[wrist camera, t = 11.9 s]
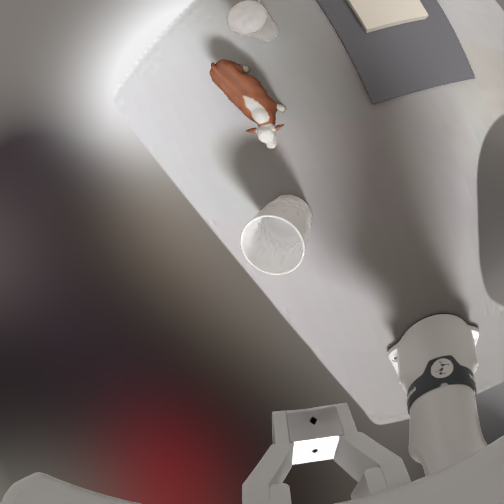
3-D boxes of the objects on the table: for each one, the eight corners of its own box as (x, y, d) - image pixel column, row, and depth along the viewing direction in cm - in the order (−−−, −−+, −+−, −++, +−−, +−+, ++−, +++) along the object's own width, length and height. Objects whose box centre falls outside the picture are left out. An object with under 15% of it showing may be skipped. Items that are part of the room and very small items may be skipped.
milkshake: (294, 25, 29) (275, 2, 20) (268, 52, 32) (242, 37, 23) (268, 8, 28) (242, -16, 20) (244, 34, 31) (212, 17, 23)
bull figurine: (278, 146, 38) (260, 156, 31) (222, 74, 35) (193, 69, 28) (303, 129, 36) (291, 135, 29) (245, 55, 33) (220, 45, 26)
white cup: (264, 187, 42) (239, 211, 33) (318, 193, 39) (307, 219, 31) (263, 236, 45) (241, 269, 37) (313, 243, 43) (301, 279, 35)
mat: (473, 78, 23) (475, 78, 23) (372, 104, 31) (373, 104, 30) (396, -53, 16) (396, -54, 16) (297, -27, 24) (296, -29, 23)
